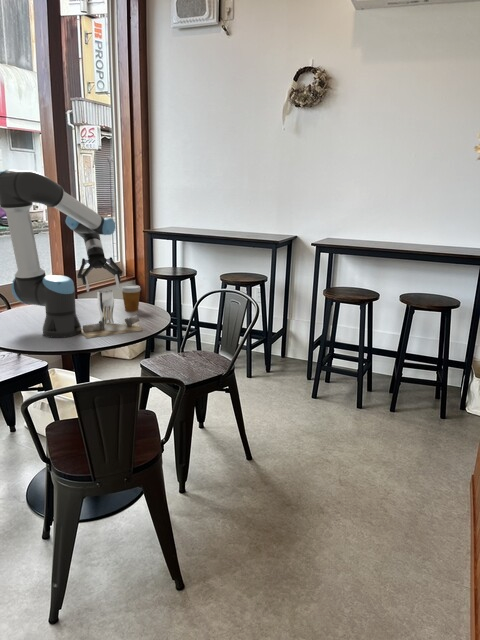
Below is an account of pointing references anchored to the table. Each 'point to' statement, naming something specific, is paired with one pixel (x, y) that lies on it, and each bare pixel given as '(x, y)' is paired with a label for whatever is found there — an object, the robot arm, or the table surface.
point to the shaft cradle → (110, 328)
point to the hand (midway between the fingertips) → (103, 288)
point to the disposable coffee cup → (131, 297)
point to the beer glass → (106, 306)
